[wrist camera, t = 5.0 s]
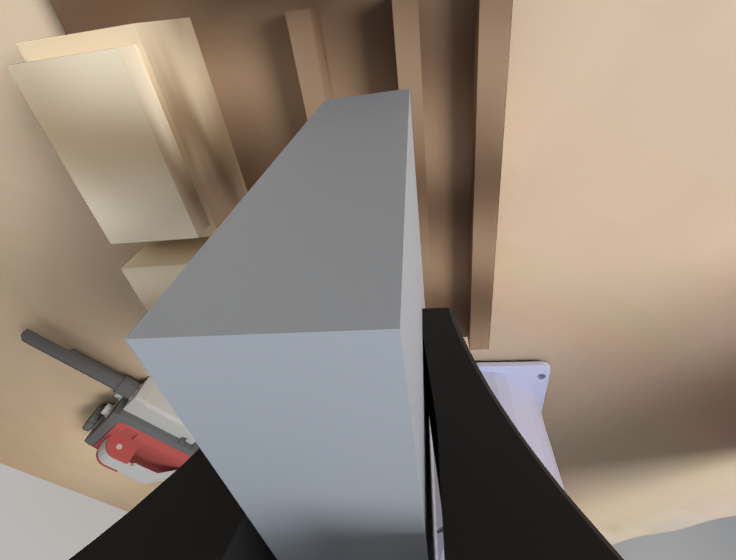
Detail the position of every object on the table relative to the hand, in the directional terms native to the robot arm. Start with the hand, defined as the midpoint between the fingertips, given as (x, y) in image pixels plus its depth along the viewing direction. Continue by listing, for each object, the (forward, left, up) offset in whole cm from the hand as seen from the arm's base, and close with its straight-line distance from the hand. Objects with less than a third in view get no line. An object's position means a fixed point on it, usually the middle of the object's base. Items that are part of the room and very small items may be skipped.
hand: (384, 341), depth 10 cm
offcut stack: (0, +9, -9) cm, 13 cm away
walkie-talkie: (-18, +22, -11) cm, 30 cm away
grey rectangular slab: (0, 0, -3) cm, 3 cm away
